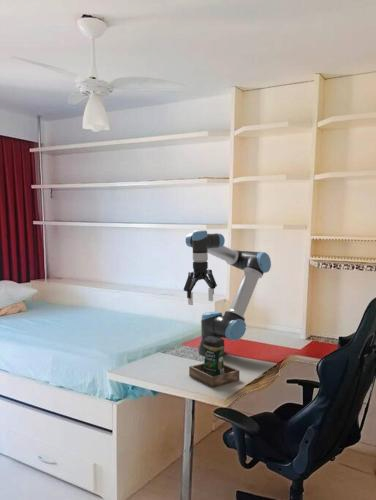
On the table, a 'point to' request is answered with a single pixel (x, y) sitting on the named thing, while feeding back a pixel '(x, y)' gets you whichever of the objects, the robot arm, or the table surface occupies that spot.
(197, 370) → the walnut tray
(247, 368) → the table surface
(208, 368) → the coffee jar
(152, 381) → the table surface
